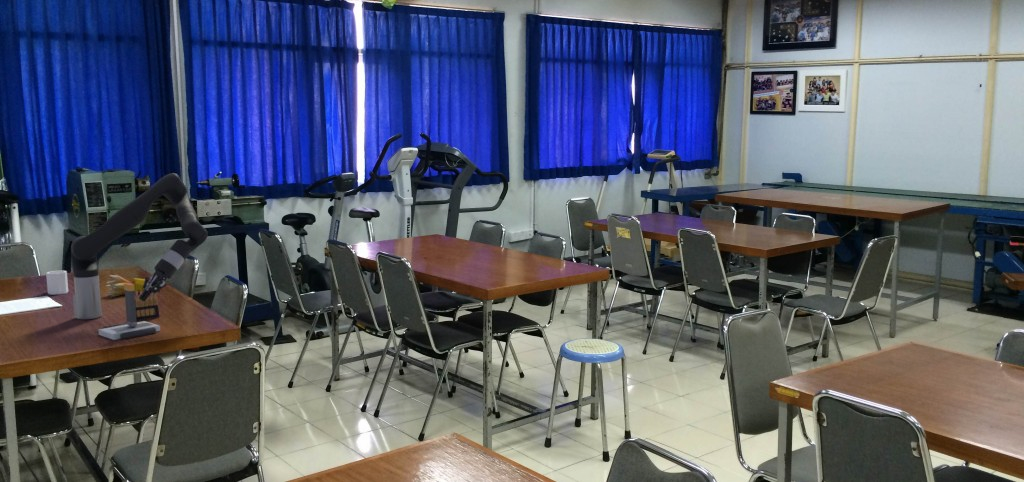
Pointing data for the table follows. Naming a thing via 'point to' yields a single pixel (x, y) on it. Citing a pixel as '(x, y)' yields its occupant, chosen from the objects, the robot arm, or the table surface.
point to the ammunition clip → (146, 307)
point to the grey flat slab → (125, 329)
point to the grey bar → (114, 325)
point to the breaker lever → (130, 304)
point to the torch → (119, 285)
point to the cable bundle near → (138, 333)
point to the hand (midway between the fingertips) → (141, 299)
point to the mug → (57, 282)
